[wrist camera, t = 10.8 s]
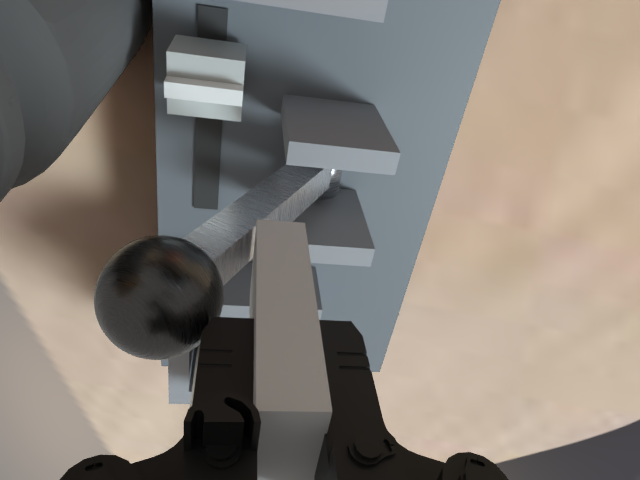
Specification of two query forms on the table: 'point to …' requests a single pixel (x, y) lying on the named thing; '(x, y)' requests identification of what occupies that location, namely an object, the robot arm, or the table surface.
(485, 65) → the table surface
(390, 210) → the panel
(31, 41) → the bottle
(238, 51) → the slider grey
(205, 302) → the lever
